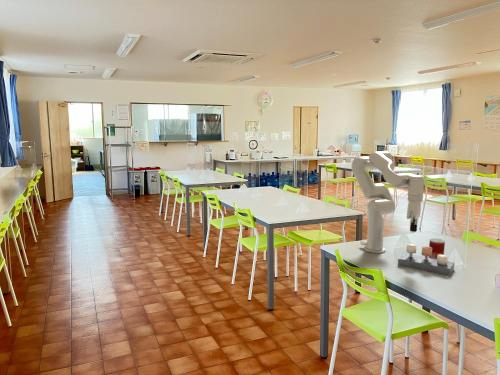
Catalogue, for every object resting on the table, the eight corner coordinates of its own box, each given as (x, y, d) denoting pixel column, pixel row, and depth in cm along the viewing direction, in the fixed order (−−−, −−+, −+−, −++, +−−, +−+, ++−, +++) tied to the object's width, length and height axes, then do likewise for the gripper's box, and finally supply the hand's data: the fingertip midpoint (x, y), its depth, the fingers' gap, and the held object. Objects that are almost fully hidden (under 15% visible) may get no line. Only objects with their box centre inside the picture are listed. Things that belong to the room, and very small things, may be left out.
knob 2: (435, 269, 219) (436, 256, 217) (437, 267, 223) (438, 253, 221) (445, 271, 216) (446, 258, 214) (447, 269, 220) (448, 255, 218)
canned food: (444, 261, 234) (446, 242, 233) (429, 260, 236) (431, 241, 234) (441, 257, 242) (443, 239, 240) (427, 256, 243) (428, 238, 242)
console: (397, 265, 227) (398, 258, 226) (404, 259, 236) (404, 253, 236) (449, 276, 211) (449, 268, 211) (453, 269, 221) (454, 262, 220)
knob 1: (404, 258, 227) (405, 245, 226) (407, 256, 231) (408, 243, 230) (414, 260, 224) (415, 246, 223) (416, 257, 228) (417, 244, 227)
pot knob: (419, 261, 223) (421, 247, 222) (422, 258, 227) (423, 245, 225) (429, 263, 220) (430, 249, 219) (432, 260, 224) (433, 246, 223)
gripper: (411, 195, 231) (410, 227, 233) (404, 199, 219) (402, 233, 221) (426, 197, 226) (424, 229, 229) (418, 200, 214) (416, 235, 217)
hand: (413, 231), depth 225 cm, fingers closed
